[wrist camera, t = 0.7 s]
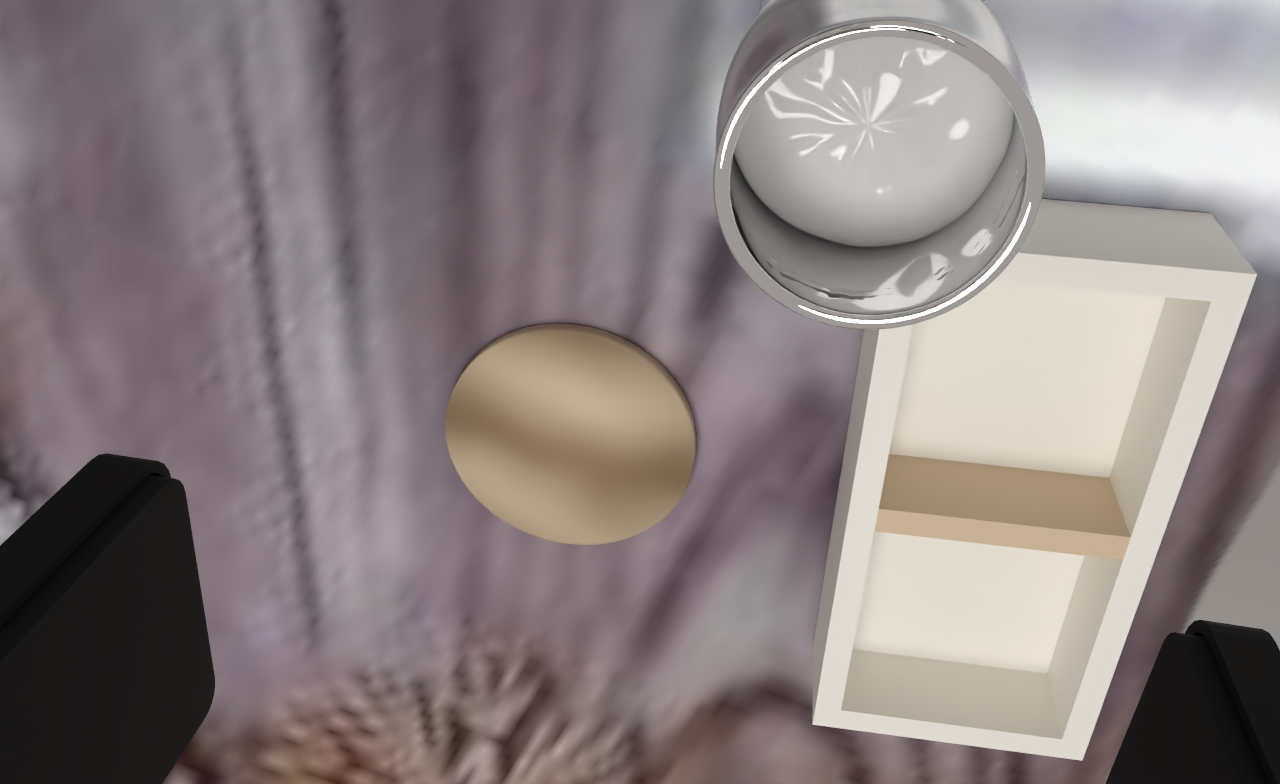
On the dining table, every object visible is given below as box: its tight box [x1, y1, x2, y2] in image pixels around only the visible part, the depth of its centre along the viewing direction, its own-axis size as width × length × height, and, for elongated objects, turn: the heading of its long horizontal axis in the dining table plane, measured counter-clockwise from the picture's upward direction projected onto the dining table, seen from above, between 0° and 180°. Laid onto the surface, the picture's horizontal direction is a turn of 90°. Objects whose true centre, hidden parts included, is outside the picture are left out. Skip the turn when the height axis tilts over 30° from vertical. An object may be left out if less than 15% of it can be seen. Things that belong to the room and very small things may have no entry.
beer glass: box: [713, 0, 1045, 330], centre depth 29 cm, size 7×7×15 cm
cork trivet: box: [445, 323, 696, 545], centre depth 45 cm, size 10×10×1 cm
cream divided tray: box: [813, 199, 1257, 760], centre depth 41 cm, size 21×10×5 cm, turn 178°
